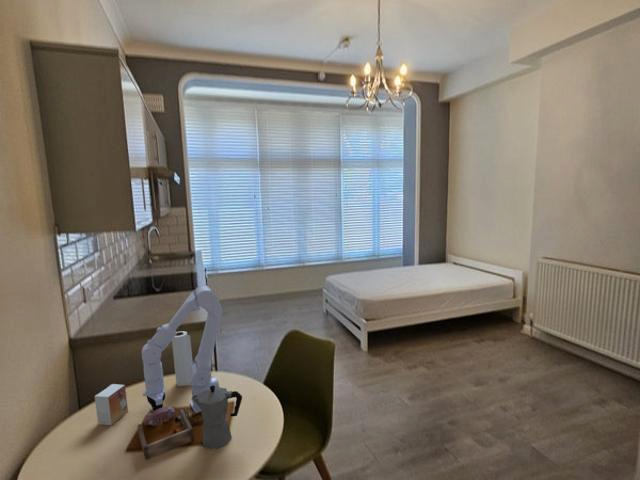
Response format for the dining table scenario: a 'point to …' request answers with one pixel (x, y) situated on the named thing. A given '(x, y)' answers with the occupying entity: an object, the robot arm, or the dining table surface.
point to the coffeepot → (216, 415)
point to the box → (167, 439)
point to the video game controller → (159, 416)
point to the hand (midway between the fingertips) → (158, 413)
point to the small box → (111, 404)
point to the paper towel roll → (182, 358)
